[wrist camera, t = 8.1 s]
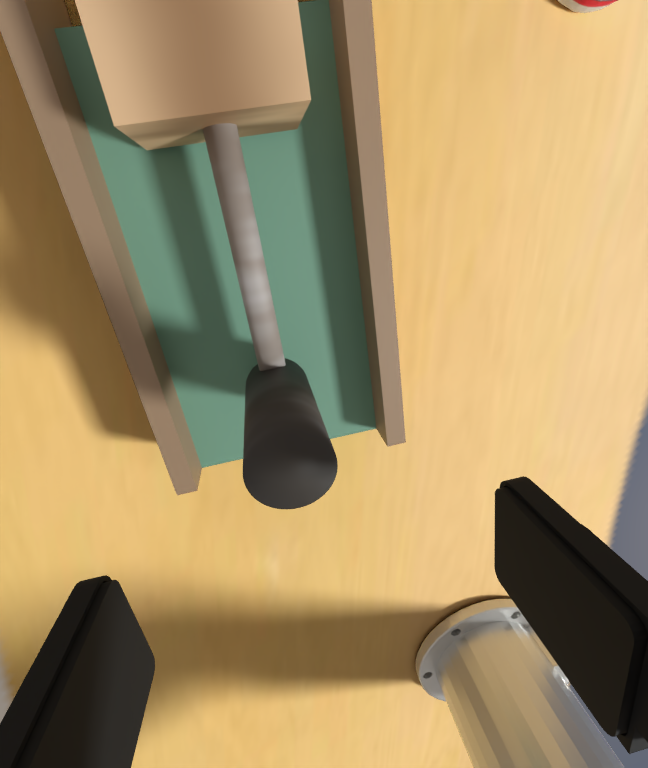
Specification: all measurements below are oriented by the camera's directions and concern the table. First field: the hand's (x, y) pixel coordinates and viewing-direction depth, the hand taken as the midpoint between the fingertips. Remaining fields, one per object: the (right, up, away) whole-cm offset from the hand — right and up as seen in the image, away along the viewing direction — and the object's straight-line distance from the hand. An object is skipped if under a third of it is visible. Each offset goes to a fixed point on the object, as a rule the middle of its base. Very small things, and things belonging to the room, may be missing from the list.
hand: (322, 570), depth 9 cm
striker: (-3, +10, +8) cm, 13 cm away
